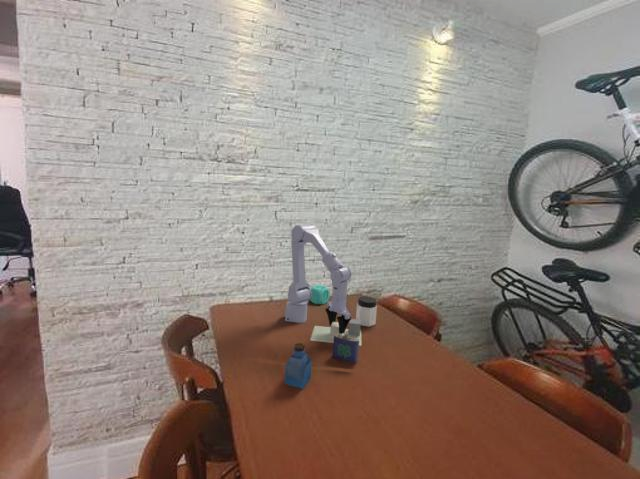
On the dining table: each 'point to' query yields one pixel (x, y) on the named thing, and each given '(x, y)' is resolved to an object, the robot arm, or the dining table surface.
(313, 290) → the decorative dice
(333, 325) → the cream colored cube
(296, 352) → the perfume bottle
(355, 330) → the grey sharp-edged cube
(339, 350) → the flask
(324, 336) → the board
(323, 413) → the dining table surface
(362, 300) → the jar
